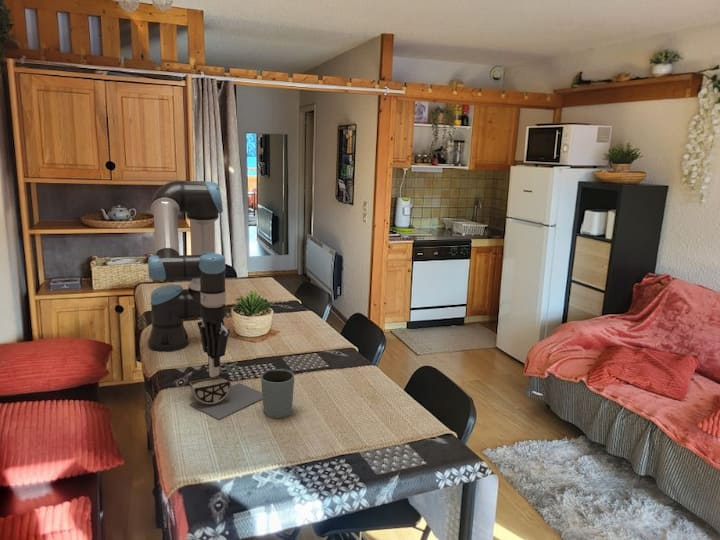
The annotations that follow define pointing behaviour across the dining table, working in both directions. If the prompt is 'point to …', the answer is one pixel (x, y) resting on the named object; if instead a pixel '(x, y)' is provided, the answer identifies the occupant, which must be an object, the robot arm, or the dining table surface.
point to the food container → (210, 389)
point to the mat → (230, 402)
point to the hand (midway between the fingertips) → (214, 375)
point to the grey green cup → (277, 392)
